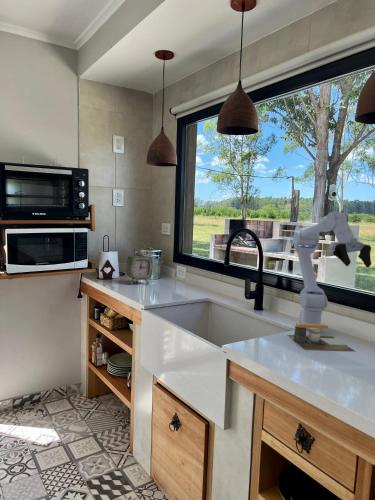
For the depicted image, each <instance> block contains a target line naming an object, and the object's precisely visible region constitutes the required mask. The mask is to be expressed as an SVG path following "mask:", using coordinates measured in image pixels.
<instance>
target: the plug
mask: <svg viewBox="0 0 375 500" xmlns="http://www.w3.org/2000/svg"><path fill="white" fill-rule="evenodd" d="M307 335H308V341H310V342H319V339H320V336H321V328H320V329H317V328H309V330H308V334H307Z"/></svg>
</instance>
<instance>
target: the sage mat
mask: <svg viewBox="0 0 375 500" xmlns="http://www.w3.org/2000/svg"><path fill="white" fill-rule="evenodd" d="M320 339H321V340H322V341H324V342H325V343H327V344H328V345H338V346H348V344H346V343H345V342H343V341H342V340H340V339H339V338H336V337H334V338H320Z"/></svg>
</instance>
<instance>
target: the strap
mask: <svg viewBox="0 0 375 500" xmlns="http://www.w3.org/2000/svg"><path fill="white" fill-rule="evenodd" d="M295 326H297V327H300V328H320V329H329V325H328V324H327V323H326V324H325V323H320V324H307V323H299V322H296V323H295Z"/></svg>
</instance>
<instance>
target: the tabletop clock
mask: <svg viewBox="0 0 375 500" xmlns="http://www.w3.org/2000/svg"><path fill="white" fill-rule="evenodd" d="M139 245H140V246H144V248H141V247H140V248H137V246H139ZM146 246H147V245H145V244H144V243H137V244H135V246H134V248H135V250H136V253H135V254H130V255H128V256H127V260H126V265H125V267H126V269H125V270H126V271H125V272H126V276H127V277H129V278H130V279H131V281H130V282H129V284H130V285H131V286H132V285H133V281H134V280H135V281H134V282H135V283H136V284H138V283H139V280H144V281H145V282H146V284H147V285H149V284H150V282H149V281H148V279H150V278H152V274H153V268H154V267H153V266H154V264H153V263H154V262H153V258H152V257H150V256H147V255H145V252H143V251H145V250H146V248H147V247H146Z"/></svg>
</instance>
